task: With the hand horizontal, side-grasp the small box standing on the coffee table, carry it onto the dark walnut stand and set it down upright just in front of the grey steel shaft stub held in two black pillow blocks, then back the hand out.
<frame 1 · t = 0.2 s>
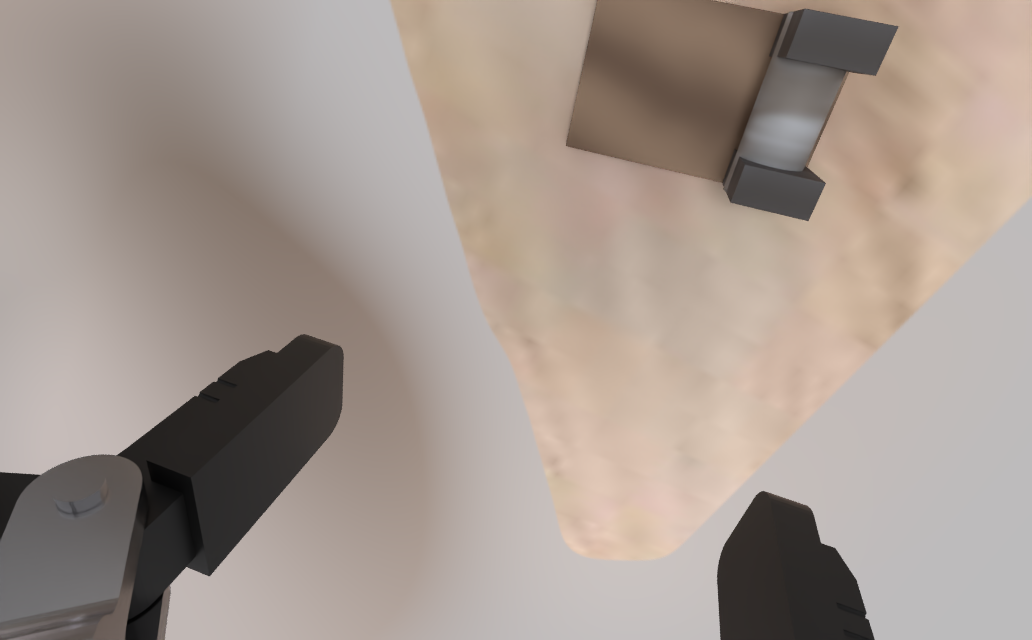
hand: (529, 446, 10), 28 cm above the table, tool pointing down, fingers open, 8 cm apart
stand: (700, 92, 32), on the table
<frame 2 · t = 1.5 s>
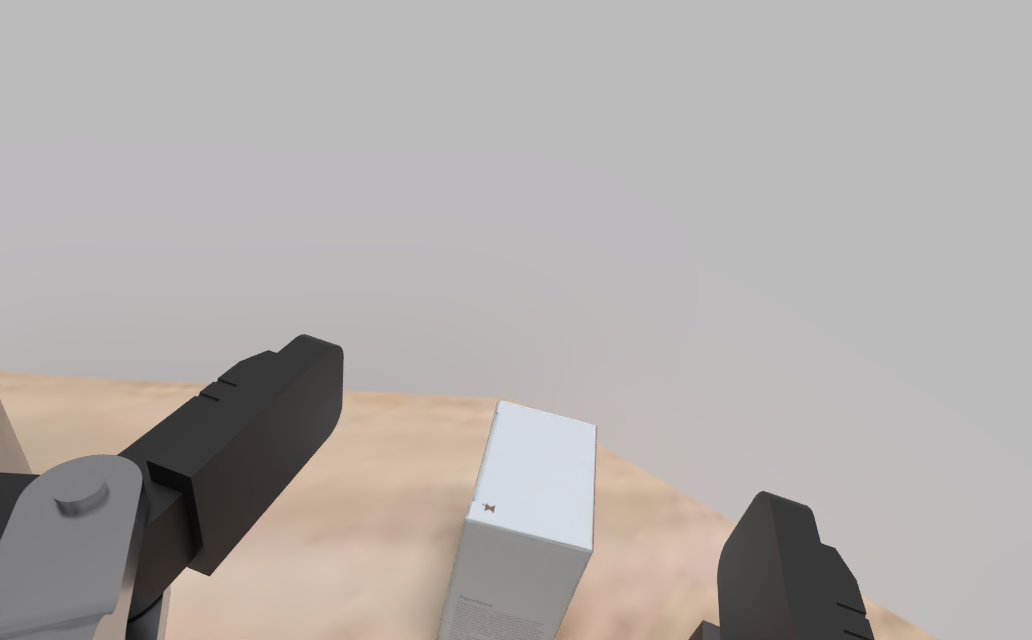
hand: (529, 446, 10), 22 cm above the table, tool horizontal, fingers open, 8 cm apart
small box: (499, 590, 31), on the table
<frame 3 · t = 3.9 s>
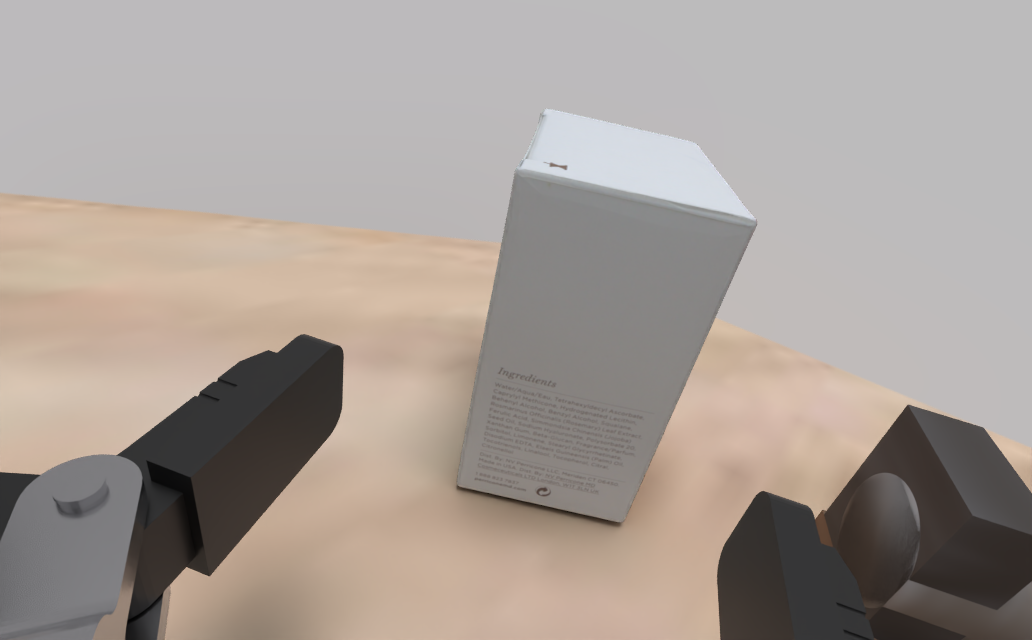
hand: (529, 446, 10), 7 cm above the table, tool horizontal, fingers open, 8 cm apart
small box: (544, 429, 21), on the table
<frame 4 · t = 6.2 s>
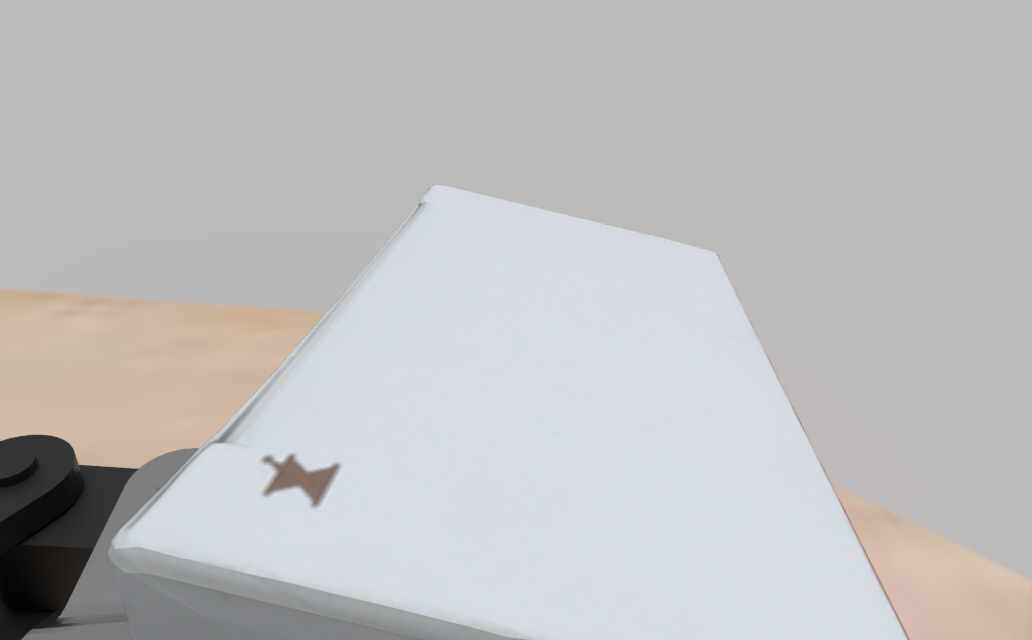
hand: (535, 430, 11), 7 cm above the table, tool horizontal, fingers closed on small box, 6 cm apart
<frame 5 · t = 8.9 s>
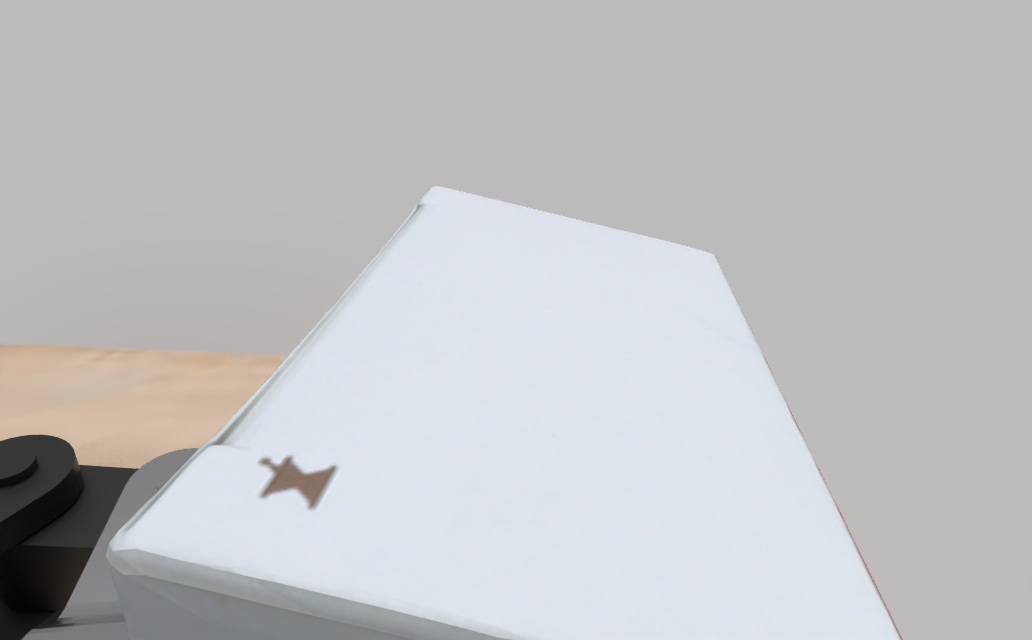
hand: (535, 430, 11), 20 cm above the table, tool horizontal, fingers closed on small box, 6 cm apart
when the fingers open (9 cm above the table, at t = 11.8 s): small box drops 1 cm, resting on stand.
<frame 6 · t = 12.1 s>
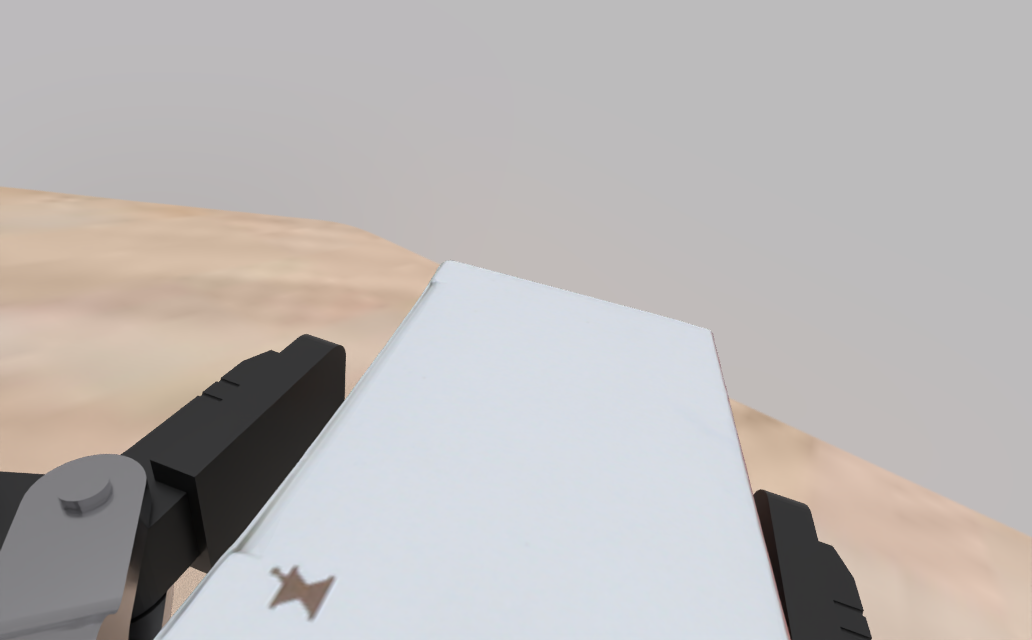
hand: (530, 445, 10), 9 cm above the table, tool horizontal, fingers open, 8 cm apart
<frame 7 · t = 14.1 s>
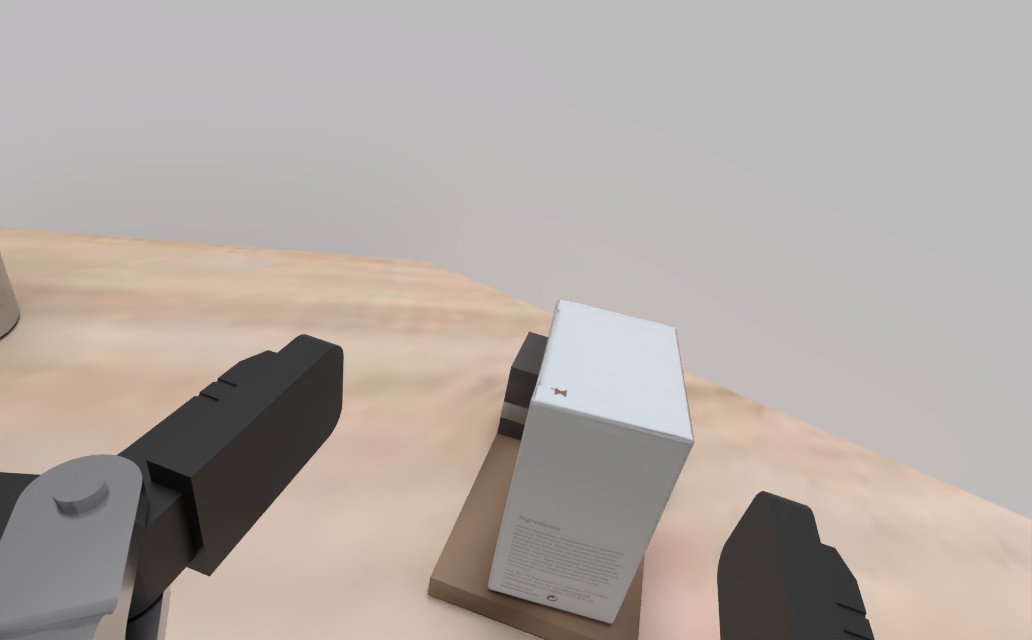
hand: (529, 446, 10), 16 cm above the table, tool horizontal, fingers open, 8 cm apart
small box: (557, 536, 26), point 1 cm above the table, touching stand
stand: (557, 508, 29), on the table
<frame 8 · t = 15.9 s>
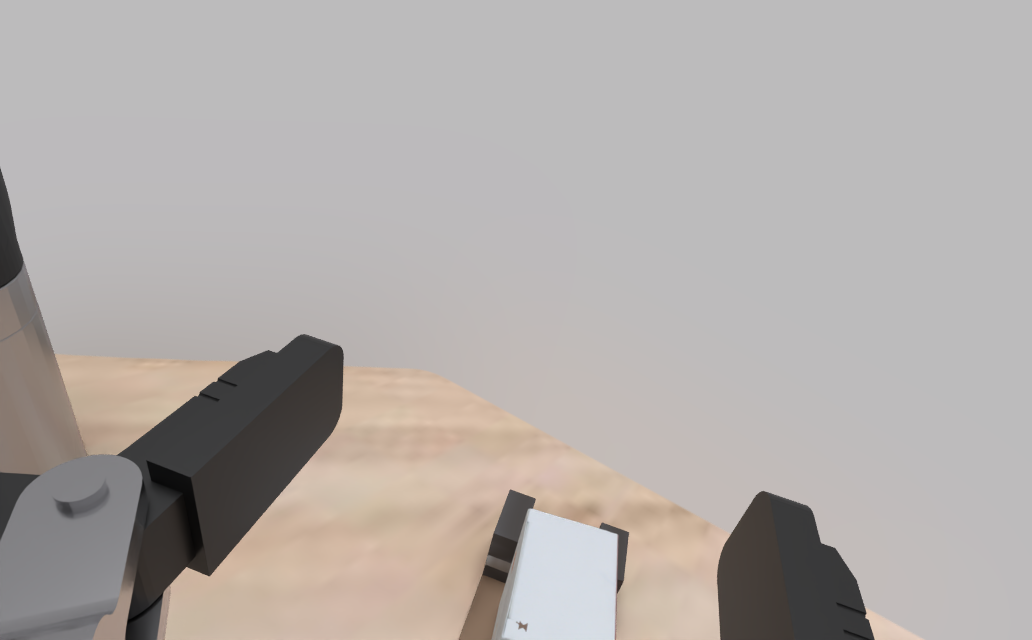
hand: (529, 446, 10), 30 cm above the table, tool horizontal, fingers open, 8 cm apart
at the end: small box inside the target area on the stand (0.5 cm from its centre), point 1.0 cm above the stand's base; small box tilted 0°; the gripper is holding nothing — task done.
